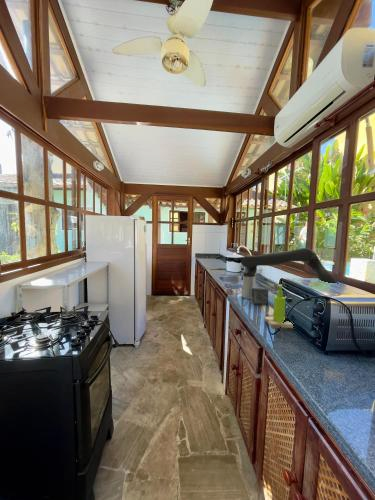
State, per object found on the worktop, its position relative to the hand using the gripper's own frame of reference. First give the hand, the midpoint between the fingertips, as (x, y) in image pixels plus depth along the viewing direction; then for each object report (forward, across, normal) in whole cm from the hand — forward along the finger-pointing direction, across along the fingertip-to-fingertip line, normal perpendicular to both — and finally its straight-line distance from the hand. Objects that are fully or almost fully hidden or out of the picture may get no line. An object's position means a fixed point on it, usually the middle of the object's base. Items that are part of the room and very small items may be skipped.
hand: (283, 298), depth 124 cm
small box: (+1, -37, +15) cm, 40 cm away
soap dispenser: (+2, -1, +13) cm, 13 cm away
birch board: (+2, 0, +15) cm, 15 cm away
